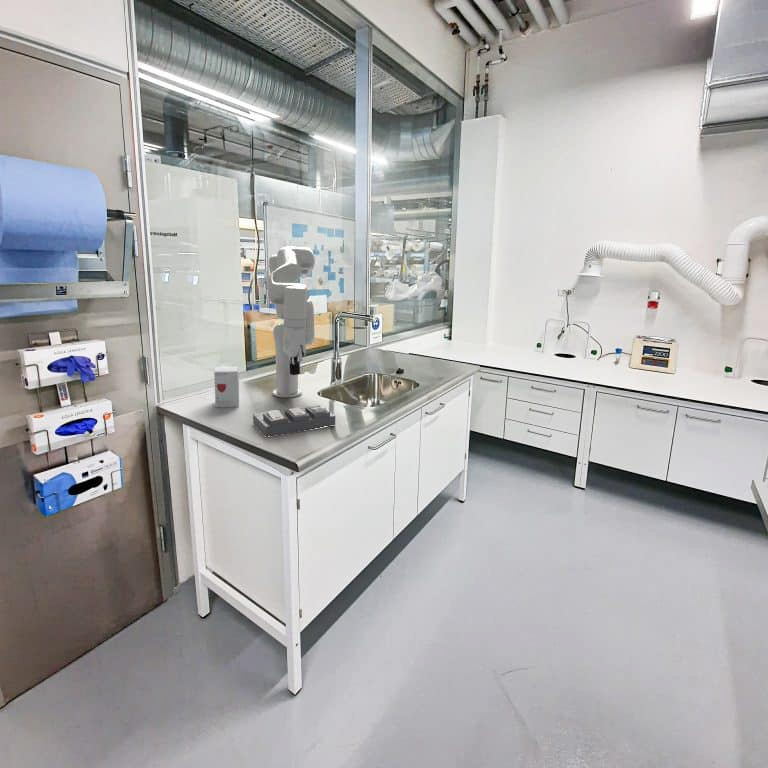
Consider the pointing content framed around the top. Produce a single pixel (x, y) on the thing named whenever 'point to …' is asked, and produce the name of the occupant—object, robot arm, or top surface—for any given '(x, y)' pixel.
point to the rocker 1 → (275, 415)
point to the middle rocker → (297, 412)
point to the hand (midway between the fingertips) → (294, 374)
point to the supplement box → (226, 386)
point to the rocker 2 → (318, 409)
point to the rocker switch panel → (293, 421)
